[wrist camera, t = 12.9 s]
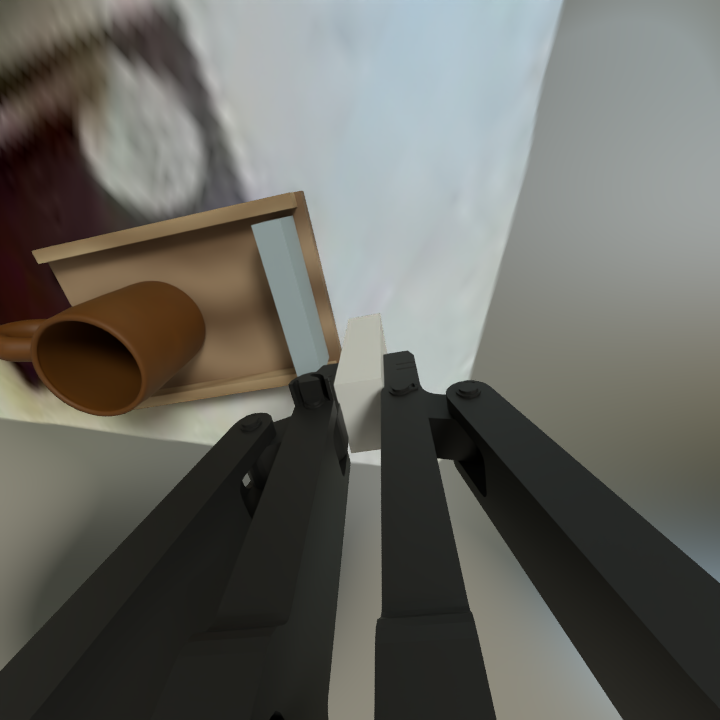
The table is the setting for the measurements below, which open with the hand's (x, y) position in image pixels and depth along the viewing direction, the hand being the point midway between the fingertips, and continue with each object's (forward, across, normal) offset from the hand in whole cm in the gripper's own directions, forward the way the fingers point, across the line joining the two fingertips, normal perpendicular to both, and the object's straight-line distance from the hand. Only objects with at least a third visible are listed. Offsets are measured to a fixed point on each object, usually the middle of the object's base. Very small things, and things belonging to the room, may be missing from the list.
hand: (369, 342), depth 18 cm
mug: (+13, -20, +1) cm, 24 cm away
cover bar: (+13, -6, 0) cm, 14 cm away
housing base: (+14, -15, 0) cm, 21 cm away
